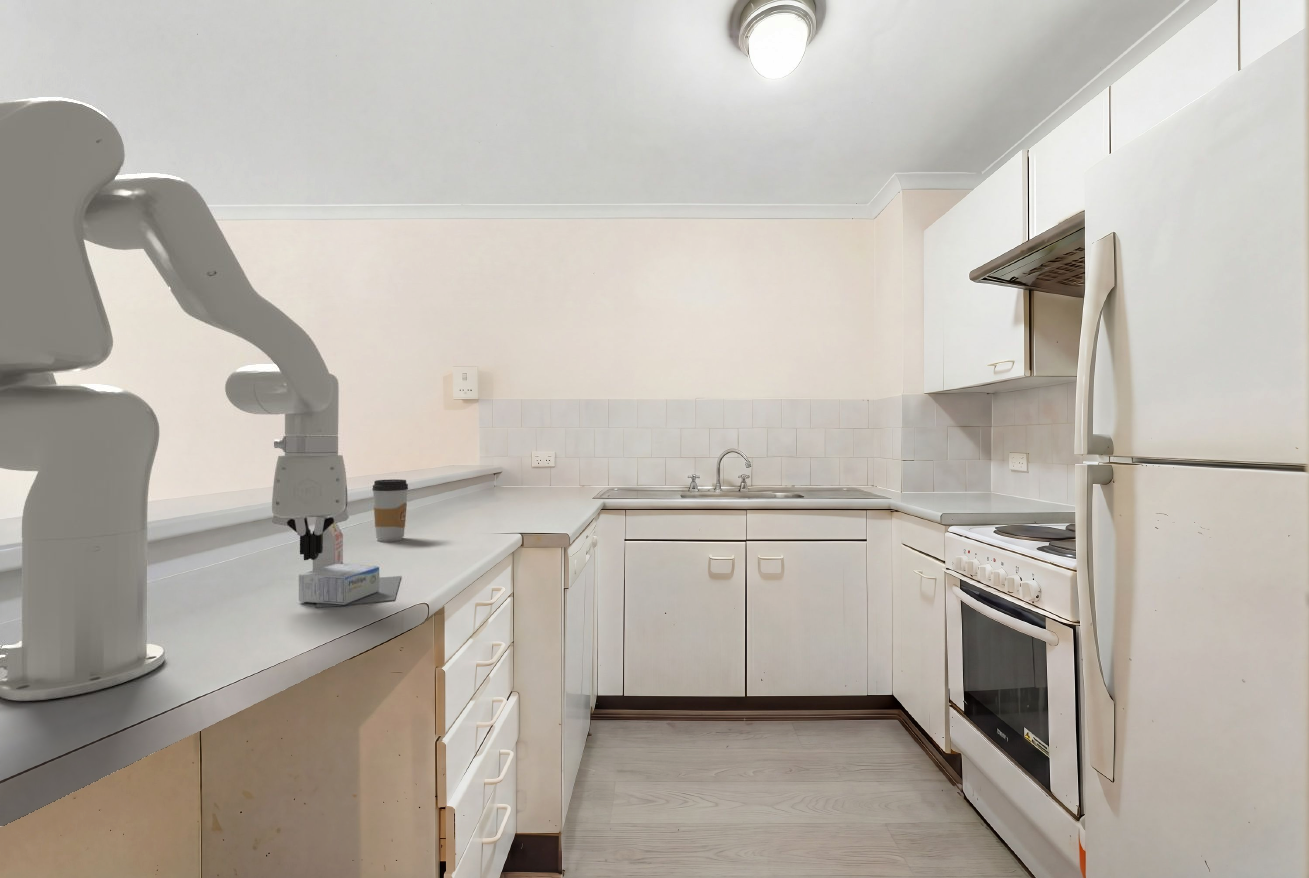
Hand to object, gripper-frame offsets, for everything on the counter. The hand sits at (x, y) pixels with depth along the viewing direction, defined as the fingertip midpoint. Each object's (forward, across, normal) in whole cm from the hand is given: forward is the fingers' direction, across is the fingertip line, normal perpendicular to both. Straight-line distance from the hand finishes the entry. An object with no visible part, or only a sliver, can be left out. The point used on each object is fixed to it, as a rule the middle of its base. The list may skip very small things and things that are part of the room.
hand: (311, 558), depth 91 cm
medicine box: (+4, +1, -1) cm, 4 cm away
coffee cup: (+6, +8, +50) cm, 51 cm away
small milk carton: (+6, -1, +21) cm, 22 cm away
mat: (+6, +8, 0) cm, 10 cm away
